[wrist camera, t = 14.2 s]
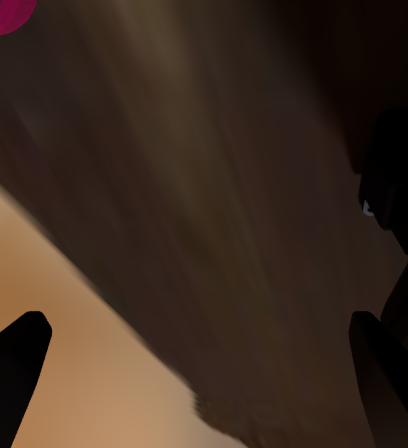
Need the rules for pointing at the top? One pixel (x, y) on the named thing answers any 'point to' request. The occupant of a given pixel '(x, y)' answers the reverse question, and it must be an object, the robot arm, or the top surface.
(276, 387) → the top surface
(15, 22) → the pepper mill
